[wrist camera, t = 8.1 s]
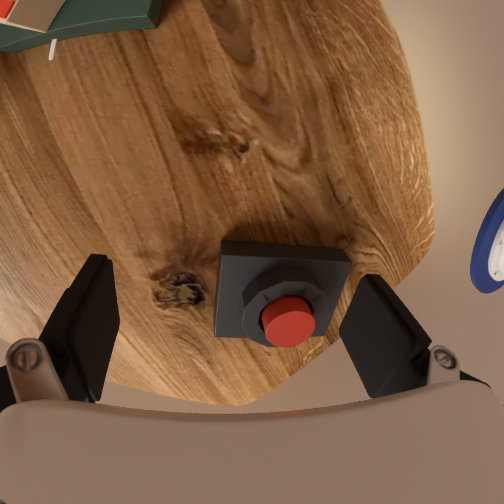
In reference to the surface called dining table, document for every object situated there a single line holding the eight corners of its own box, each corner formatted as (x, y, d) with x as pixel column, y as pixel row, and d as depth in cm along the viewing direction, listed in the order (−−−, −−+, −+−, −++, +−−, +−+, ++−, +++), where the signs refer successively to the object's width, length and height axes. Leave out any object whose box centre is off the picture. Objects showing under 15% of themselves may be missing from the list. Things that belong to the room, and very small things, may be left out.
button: (314, 295, 20) (321, 310, 19) (302, 330, 22) (307, 346, 21) (266, 294, 20) (270, 310, 18) (258, 331, 21) (261, 348, 20)
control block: (341, 248, 23) (362, 274, 20) (317, 320, 27) (330, 350, 23) (220, 240, 21) (223, 268, 18) (213, 320, 25) (215, 353, 22)
